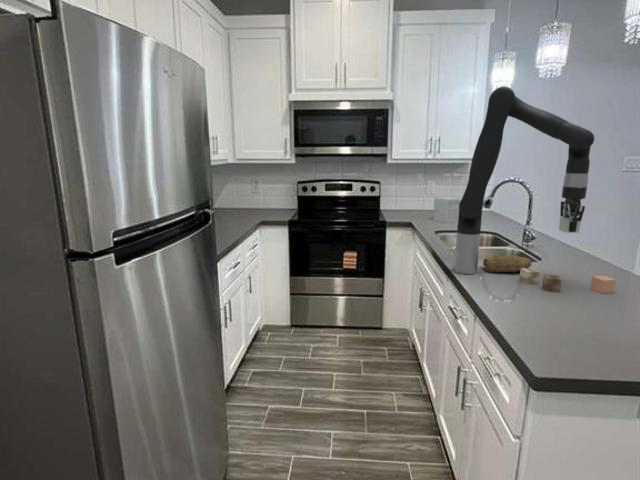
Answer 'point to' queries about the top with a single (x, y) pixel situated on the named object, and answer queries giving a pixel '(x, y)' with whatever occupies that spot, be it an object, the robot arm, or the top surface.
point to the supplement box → (446, 209)
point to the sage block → (567, 225)
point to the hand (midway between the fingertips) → (568, 230)
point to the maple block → (529, 276)
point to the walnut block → (551, 283)
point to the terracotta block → (602, 284)
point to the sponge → (506, 263)
